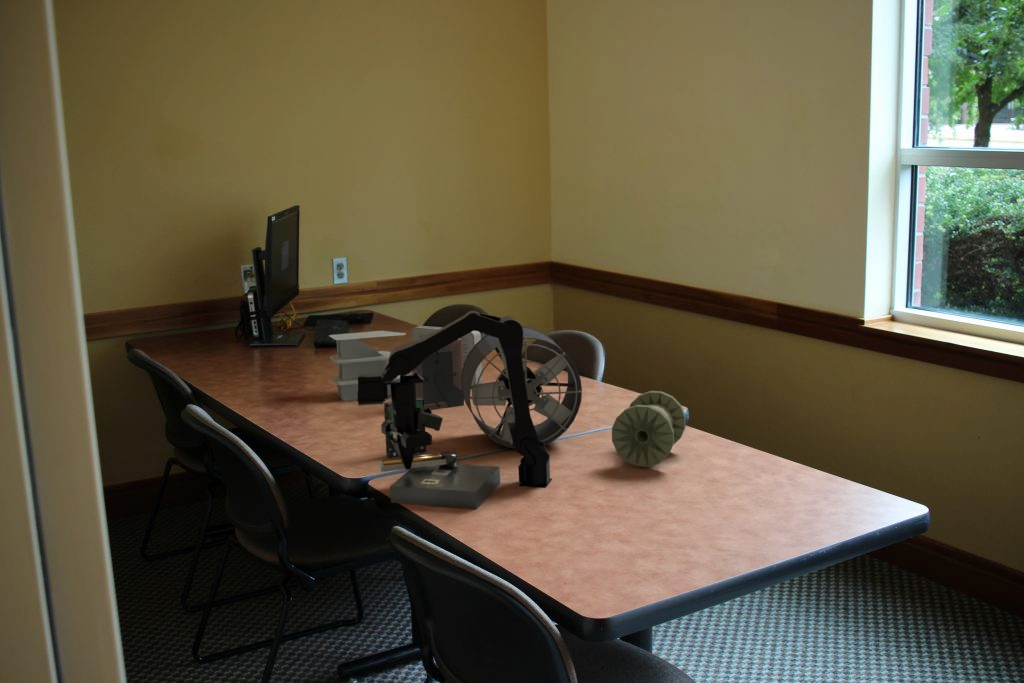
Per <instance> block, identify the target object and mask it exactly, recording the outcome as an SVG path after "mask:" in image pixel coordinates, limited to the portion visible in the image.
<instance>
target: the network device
mask: <svg viewBox="0 0 1024 683" xmlns="http://www.w3.org/2000/svg"><path fill="white" fill-rule="evenodd" d="M443 327H444V326H443ZM443 327H440V326H428V325H427V326H426V325H419V326H417V327H416V326H415V327H413V328H412V330H411V342H414V341H418V340H420V339H423V338H425V337H427V336H428V335H430V334H432V333H434V332H436V331H437V330H439V329H441V328H443ZM460 339H461V346H462V369H463V365H464V362H465V360H466V358H467V356H468V354H469V352H470V351H471V350H472V348H473V347H474V346H475V344H476V343H477V342H479V341H480V340H481V339H482V335H481V332H478V331H472V332H470V333H468V334H467V335H465V336H463V337H461V338H460ZM482 370H483V361H482V362H481V363H480V365H479V366H478V368H477V370H476V372H475V374H474V376H473V380H472V383H471V388H472V385H476V384H477V381H478V378H479V376H480V374H481V372H482ZM479 384H483V375H482V376H481V378H480V380H479Z"/></svg>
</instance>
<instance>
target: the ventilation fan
mask: <svg viewBox="0 0 1024 683" xmlns="http://www.w3.org/2000/svg"><path fill="white" fill-rule="evenodd" d="M521 326H522V325H521ZM522 329H523V341H524V343H523V347H524V358H523V357H522V363H523V370H524V377H525V383H526V390H527V397H528V403H529V407H531V406H533V405H535V406H534V407H532V408H529V410H530V412H531V411H535V412H537V413H539V414H540V415H541V416H544V417H545V418H546V419H545V420H543V421H541V422H540V423H539V424H534V427H535V430H536V433H537V436H538V439H539V440H540V441H541V442H542V443H543V444H544V445H545V446H546V445H549V444H551V443H552V442H554V441H555V440H557V439H559V438H560V437H561V436H563V434H564V433H565V432H566V431H567V430H568V429H569V428H570V427H571V425H572V424H573V422H574V421H575V419H576V417H577V415H578V413H579V410H580V407H581V404H582V399H583V398H582V396H583V388H582V380H581V376H580V374H579V370H578V368H577V366H576V365H575V362H574V361H573V359H572V358H571V357H570V356H569V355H568V354H567V353H566V351H564V350H563V349H562V348H561V347H560V346H559V345H558V344H557V343H556V342H555V341H554V339H552V338H551V337H549V335H547V334H546V333H545V332H542V331H540V330H538V329H535V328H532V327H528V326H522ZM527 339H531V340H539V341H543V342H546V343H548V344H550V345H552V346H555V347H556V348H557V349H558V350H559V351H560V353H558V352H557V351H555V350H554V349H551V348H549V347H547V346H544V345H541V344H535V343H527ZM527 346H528V347H529V346H532V347H539V348H543V349H545V350H548V351H550V352H552V353H554V354H555V355H556V356H555V357H554V356H553V358H552V359H550V360H548V361H547V362H545V363H544V364H543V363H541V362H538V361H534V360H527V359H528V358H527V354H528V352H527ZM493 351H495V352H496V354H495V355H494V356H493V357H491V359H488V358H487V356H488V355H489V354H490V353H492V352H493ZM496 357H499V359H500V360H501V362H502V364H503V369H502V370H501V369H500V368H499V367H498V366H496V365H495V364H494V363H493V362H492V361H494V359H495V358H496ZM484 359H485V360H486V361H487V363H486V364H485V366H484V367H482V372H481V374H480V376H479V378H478V381H477V384H476V385H472V387H471V383H472V380H473V376H474V374H475V372H476V370H477V368H478V366H479V365H480V363H481V362H482V363H483V361H484ZM528 363H531V364H532V363H533V364H537V365H539V366H540V367H539V368H537V369H535V370H534V371H532V369H531V368H530V367H528V366H527V364H528ZM489 365H491V366H492V367H494V368H495V369H496V370H497V371H498V372H499V373H500V374H499V375H498V376H497V378H496V380H495V381H491V382H484V383H483V382H482V383H481V384H479V380H480V378H481V376H482V377H483V373H484V371H485V370H486V369H487V367H488V366H489ZM565 369H566V371H567V382H559V379H558V377H557V376H559V375H560V374H561V373H562V372H563V371H564V370H565ZM554 379H555V381H556V382H552V381H553V380H554ZM542 386H544V387H558V391H548V392H544V390H543V387H542ZM561 387H566V390H565V391H561ZM461 388H462V394H463V397H464V404H465V405H466V407H467V408H468V410H469V412H470V413H471V416H472V417H473V419H474V421H475V423H476V424H477V426H478V427H479V429H480V430H481V431H482V432H483V433H484V434H485V436H487V437H488V438H490V440H492V441H494V442H495V443H497V444H499V445H501V446H503V447H506V448H510V449H515V446H513V447H512V445H511V442H510V439H509V437H510V430H509V427H508V424H507V423H513V417H514V413H513V407H512V400H511V393H510V387H509V380H508V374H507V367H506V361H505V356H504V353H503V351H502V348H501V345H500V342H499V339H498V338H496V337H493V336H490V335H487V334H485V335H484V336H483V337H481V340H480V341H479V342H477V343H476V344H475V346H474V347H473V348H472V350H471V351H470V352H469V354H468V356H467V358H466V360H465V362H464V365H463V369H462V373H461ZM562 394H564V397H563V398H562V401H561V395H562ZM552 395H558V399H556V398H554V397H553V396H552ZM540 396H541V397H540ZM471 400H472V402H471ZM471 403H472V404H473V406H475V408H476V411H477V414H478V416H479V418H478V416H477V415H476V414H475V413H474V412H473V409H472V404H471ZM506 404H507V405H506ZM479 406H480V407H481V406H482V407H483V406H484V407H488V406H489V407H491V406H492V407H494V411H495V413H497V415H498V416H499V418H500V419H501V420H500V422H499V424H497V426H496V427H495V428H494V427H492V426H490V425H488V424H486V422H485V421H484V419H483V417H482V416H481V415H482V414H481V413H480V410H479ZM497 406H501V407H502V406H503V407H505V406H506V407H505V409H504V412H503V415H501V414H500V412H499V411H498V408H497ZM515 450H516V449H515Z"/></svg>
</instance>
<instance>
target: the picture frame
mask: <svg viewBox="0 0 1024 683" xmlns="http://www.w3.org/2000/svg"><path fill="white" fill-rule="evenodd" d="M415 371H417V373H418V374H419V375H420V376H422V377H423V380H424V381H423V383H416V398H422V399H424V407H426V408H429V409H431V411H436V410H442V409H448V408H455V407H456V408H458V407H463V406H465V400H464V397H463V394H462V388H461V373H462V346H461V339H458V340H456V341H454V342H452V343H451V344H449V345H447V346H445V347H444V348H442V349H440V350H438V351H436V352H435V353H433V354H431V355H430V356H429V357H427V358H426V359H425V360H424V361H423V362H422V363H421V364H420V365H419V366H418V367H416V368H415V369H414V370H413V371H411V372H410V373H409V375H412V374H414V372H415Z"/></svg>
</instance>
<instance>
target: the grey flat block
mask: <svg viewBox="0 0 1024 683" xmlns="http://www.w3.org/2000/svg"><path fill="white" fill-rule="evenodd" d="M500 484H501V467H500V466H496V465H494V466H493V465H477V464H462V463H461V464H460V463H458V465H457V466H456V467H452V468H442V467H439V465H435V466H427V467H418V468H411V469H409V470H407V471H406V472H405V473H404V474H403V475H402V476H401V477H399V478H398V479H397V480H396V481H394V482H393V483H391V484H390V486H389V491H390V503H393V504H402V505H404V504H405V505H414V506H425V507H437V508H438V507H439V508H440V507H441V508H453V509H469V510H470V509H471V510H477V509H478V508H479V507H480V506H481V505H482V504H483V503H484V502H485V500H487V498H488V497H489V496H490V495H491V494H492V493H493V492H494V491H495V490H496V489H497V487H498V486H499V485H500Z"/></svg>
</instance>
